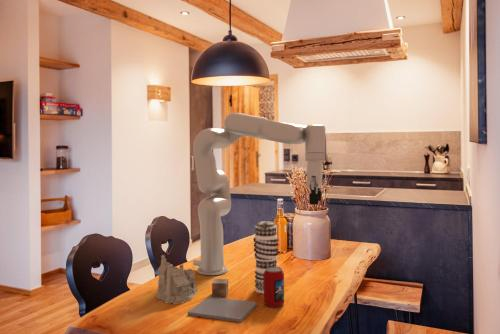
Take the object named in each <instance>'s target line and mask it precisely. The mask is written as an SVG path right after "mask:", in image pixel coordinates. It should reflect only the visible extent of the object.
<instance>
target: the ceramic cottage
mask: <svg viewBox="0 0 500 334" xmlns="http://www.w3.org/2000/svg"><path fill="white" fill-rule="evenodd" d="M160 258H161V260H160V265H159V267H158V268H157V273H158V281H157V286H158V287H157V292H156V297H157V298H159V299H161V300H162V301H161V300H160V301H161V302H163V301H164V302H163V303H165V302H167V303H181V304H183V303H182V302H185V301H188V300H190V299H192V300H193V298H194V297H195V296H196V294H197V293H198V291H197V290H198V288H197V287H196V286H195V285H196V279H195V278H196V275H195V273H194V271H193V268H188V269H185V268H184V264H180V265H179V268H178V267H177V266H174V265H173V264H171V262H168V261H167V258H166V256H165V255H164V254H163V255H161V256H160ZM196 292H197V293H196ZM193 296H194V297H193ZM156 297H155V298H156ZM192 297H193V298H192ZM157 298H156V299H157ZM159 299H158V300H159ZM190 301H191V300H190ZM188 302H189V301H188ZM167 303H166V304H167ZM185 303H186V302H185Z"/></svg>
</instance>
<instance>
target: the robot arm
mask: <svg viewBox="0 0 500 334" xmlns="http://www.w3.org/2000/svg"><path fill="white" fill-rule="evenodd" d="M223 123H224V126H222V127H221V128H218V127H217V128H215V127H208V128H205V129H202V130H201V131H200V132H199V133H197V134H196V136H195V138H194V140H193V143H192V150H193V156H194V157H193V158H194V163H195V164H194V165H195V171H196V180H197V181H196V182H197V187H198V189H199V191H200V192H201V193H204V194H209V195H210V196H207V197H204V198H202V200H200V202H199V204H198V206H197V215H198V220H199V231H200V232H199V234H200V260H199V259H194V260H192V265H193V266H195V267H196V266H197V267H198V268H197V271H196V272H197V273H198V274H199V275H202V276H203V275H204V276H219V275H223V274H226V273H227V272H228V267H227V266H226V265H225V264H224V256H225V255H224V228H223V222H222V218H221V217H224V216H226V215H227V214H228V213H230V211H231V209H232V196H231V189H230V182H229V177H228V176H227V174H226V173H225V172H224V171H223V170H221V169H217V162H216V158H215V155H214V152H213V150H215V149H225V148H228V147H230V146H232V145H233V144H234V143H236V142H237V141H239V140H241V138H243V137H244V136H245V137H249V138H255V139H259V140H267V141H271V142H276V143H280V144H281V143H282V144H286V145H287V144H288V145H301V144H304V149H305V151H304V157H305V158H304V161H305V162H307V163H306V164H307V165H306V188H308V189H309V193H308V194H309V202H308V204H309V205H319V202H321V201H322V188H321V187H322V186H323V162H326V126H325V125H324V124H320V123H319V124H315V123H313V124H306V125H304V124H303V125H302V124H298V123H297V124H296V123H287V122H281V121H276V120H271V119H268V118H267V117H264V116H259V115H258V116H257V115H252V114H246V113H242V112H241V113H240V112H230V113H229V114H228V115H226V117H225V119H224V121H223Z"/></svg>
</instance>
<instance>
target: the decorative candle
mask: <svg viewBox="0 0 500 334" xmlns="http://www.w3.org/2000/svg"><path fill="white" fill-rule="evenodd" d="M277 227H278V226H277V225H276V224H275V223H274V222H273V221H269V220H261V221H258V222H257V223H256V225H255V226H254V228H255V235H254V237H253V242H254V243H253V247H254V248H253V251H254V252H255V253H254V259H255V271H254V274H255V275H254V277H255V280H254V287H255V289H254V291H255V292H256V293H258V294H263V295H264V272H265V270H266V268H268V267H278V266H277V261H278V259H279V258H278V255H279V253H278V251H279V249H278V246H279V243H277V242H279V240H280V239H278V236H277V235H278V234H277Z"/></svg>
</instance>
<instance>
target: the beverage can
mask: <svg viewBox="0 0 500 334" xmlns="http://www.w3.org/2000/svg"><path fill="white" fill-rule="evenodd" d="M263 303H264V304H265V305H267V307H272V308H278V307H281V306H282V305H283V304H284V303H285V273H284V271H283V269H282V268H281V267H279V266H277V267H268V268H266V270H265V272H264V294H263Z"/></svg>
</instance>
